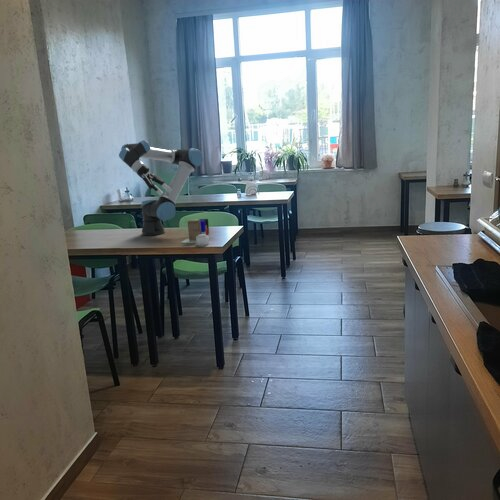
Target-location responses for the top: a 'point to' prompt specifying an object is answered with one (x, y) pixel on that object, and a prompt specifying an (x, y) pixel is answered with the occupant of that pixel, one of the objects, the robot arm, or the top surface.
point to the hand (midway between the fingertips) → (166, 192)
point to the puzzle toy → (204, 226)
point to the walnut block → (194, 229)
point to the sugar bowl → (202, 240)
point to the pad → (190, 241)
